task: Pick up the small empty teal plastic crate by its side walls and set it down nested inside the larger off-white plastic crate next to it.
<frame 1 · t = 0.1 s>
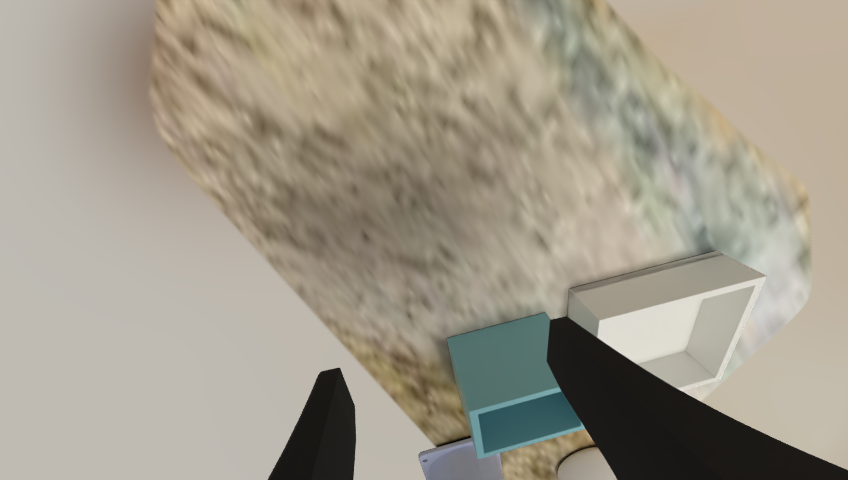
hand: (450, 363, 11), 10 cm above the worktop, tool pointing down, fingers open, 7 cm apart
water bottle: (581, 460, 38), on the worktop
white crate: (633, 322, 27), on the worktop
teal crate: (498, 349, 26), on the worktop
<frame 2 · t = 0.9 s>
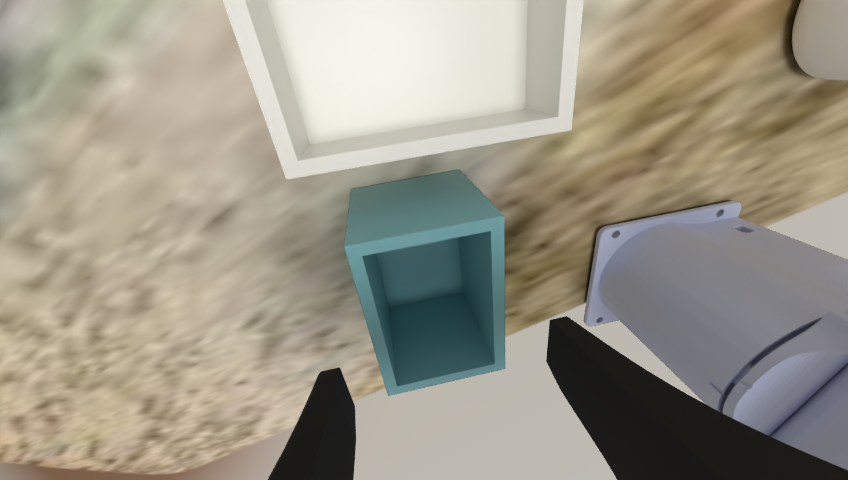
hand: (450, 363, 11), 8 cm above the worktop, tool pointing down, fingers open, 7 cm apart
teal crate: (417, 246, 18), on the worktop
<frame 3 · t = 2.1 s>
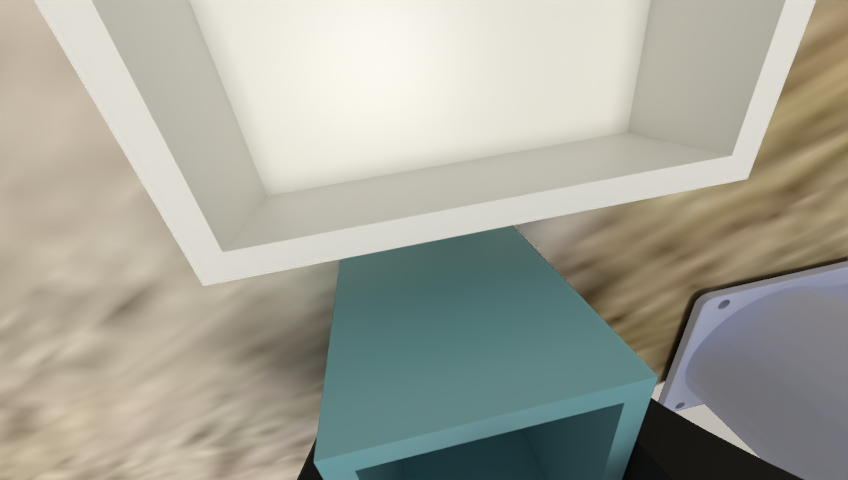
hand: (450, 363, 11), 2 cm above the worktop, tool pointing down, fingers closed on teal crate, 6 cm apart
teal crate: (440, 329, 12), on the worktop, touching gripper
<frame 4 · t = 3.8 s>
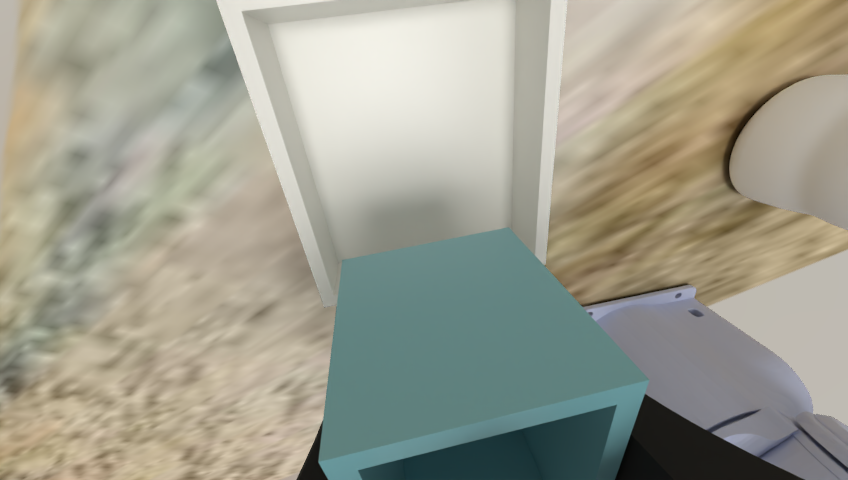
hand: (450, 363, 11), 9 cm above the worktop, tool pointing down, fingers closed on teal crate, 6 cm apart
water bottle: (773, 140, 19), on the worktop
white crate: (412, 146, 16), on the worktop
teal crate: (439, 330, 12), point 7 cm above the worktop, touching gripper
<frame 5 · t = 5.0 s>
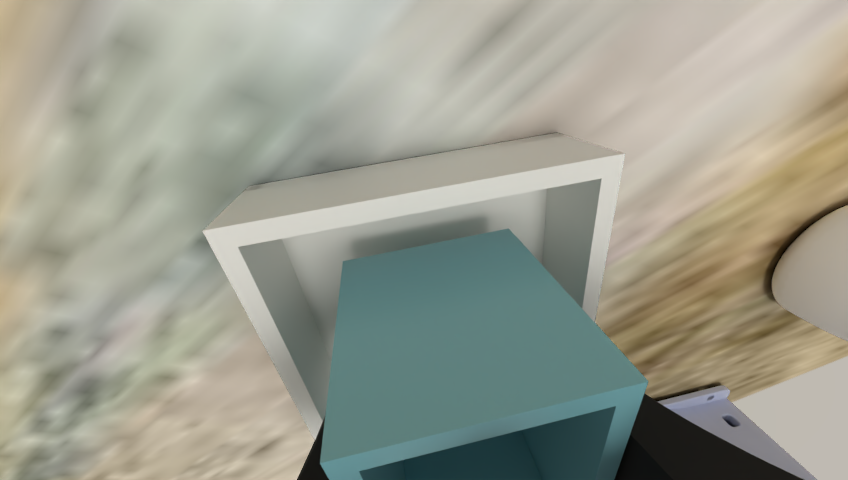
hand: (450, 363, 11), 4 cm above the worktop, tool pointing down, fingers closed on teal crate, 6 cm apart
water bottle: (819, 251, 18), on the worktop
white crate: (429, 292, 14), on the worktop
teal crate: (440, 331, 12), point 2 cm above the worktop, touching gripper
when the fingers open (3 cm above the worktop, at t = 5.7 s): teal crate drops 1 cm, resting on white crate.
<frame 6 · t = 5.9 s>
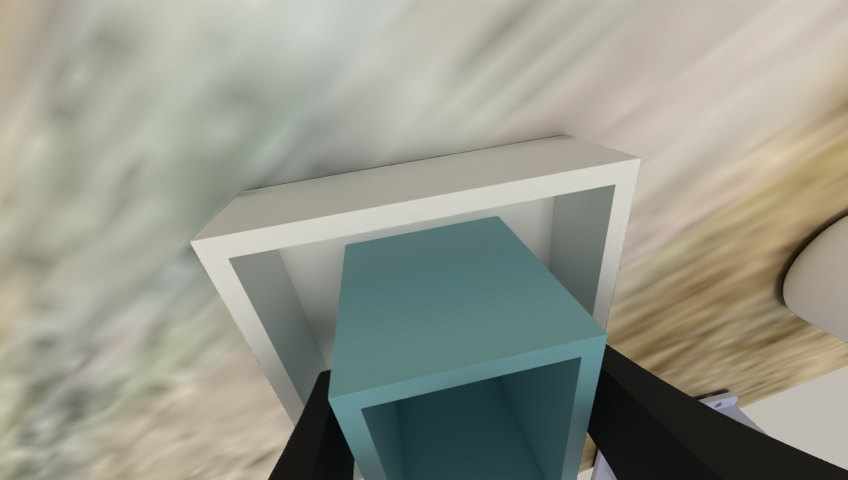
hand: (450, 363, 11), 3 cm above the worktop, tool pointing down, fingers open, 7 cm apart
water bottle: (832, 256, 17), on the worktop
white crate: (431, 300, 14), on the worktop
teal crate: (435, 313, 13), point 1 cm above the worktop, touching white crate
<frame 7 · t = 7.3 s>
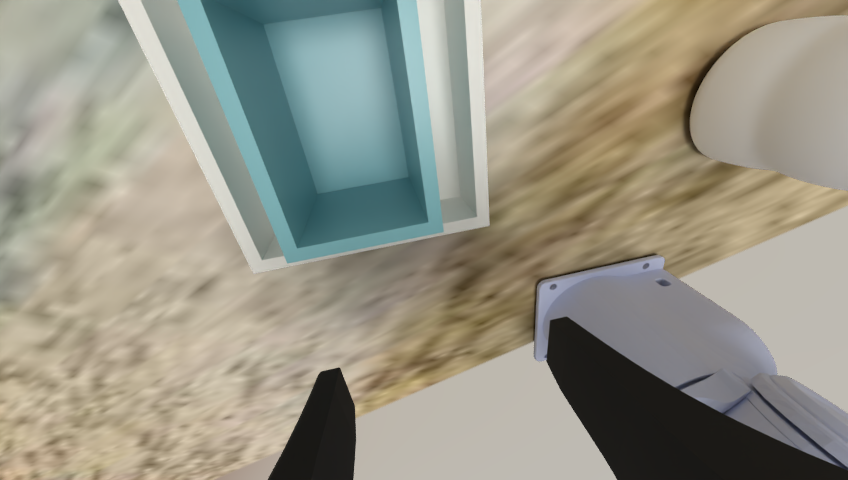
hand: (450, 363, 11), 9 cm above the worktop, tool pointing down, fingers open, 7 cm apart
water bottle: (735, 96, 18), on the worktop
white crate: (345, 103, 15), on the worktop
teal crate: (346, 109, 14), point 1 cm above the worktop, touching white crate
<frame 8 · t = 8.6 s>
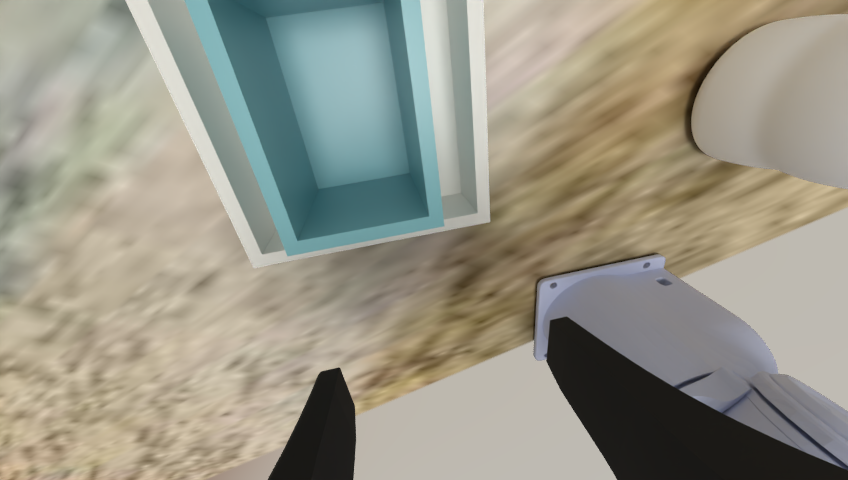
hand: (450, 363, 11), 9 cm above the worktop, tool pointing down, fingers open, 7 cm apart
water bottle: (737, 95, 18), on the worktop
white crate: (347, 98, 15), on the worktop
teal crate: (347, 104, 14), point 1 cm above the worktop, touching white crate
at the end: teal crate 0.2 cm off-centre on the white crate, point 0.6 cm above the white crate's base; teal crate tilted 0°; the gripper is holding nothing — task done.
